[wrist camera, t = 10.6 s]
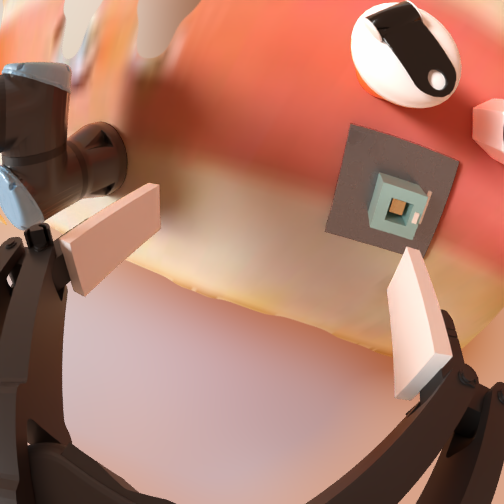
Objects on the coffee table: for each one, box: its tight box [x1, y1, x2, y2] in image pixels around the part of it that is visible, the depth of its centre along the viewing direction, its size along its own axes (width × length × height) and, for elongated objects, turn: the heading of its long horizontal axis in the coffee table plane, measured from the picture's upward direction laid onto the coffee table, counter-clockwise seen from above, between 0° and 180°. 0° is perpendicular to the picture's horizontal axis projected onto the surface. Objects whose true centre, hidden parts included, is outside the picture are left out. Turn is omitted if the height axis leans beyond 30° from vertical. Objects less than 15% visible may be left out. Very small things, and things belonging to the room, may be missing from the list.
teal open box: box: [368, 172, 428, 240], centre depth 32 cm, size 6×6×5 cm
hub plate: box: [325, 123, 459, 258], centre depth 33 cm, size 16×16×6 cm
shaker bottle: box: [350, 1, 461, 108], centre depth 20 cm, size 9×9×20 cm
